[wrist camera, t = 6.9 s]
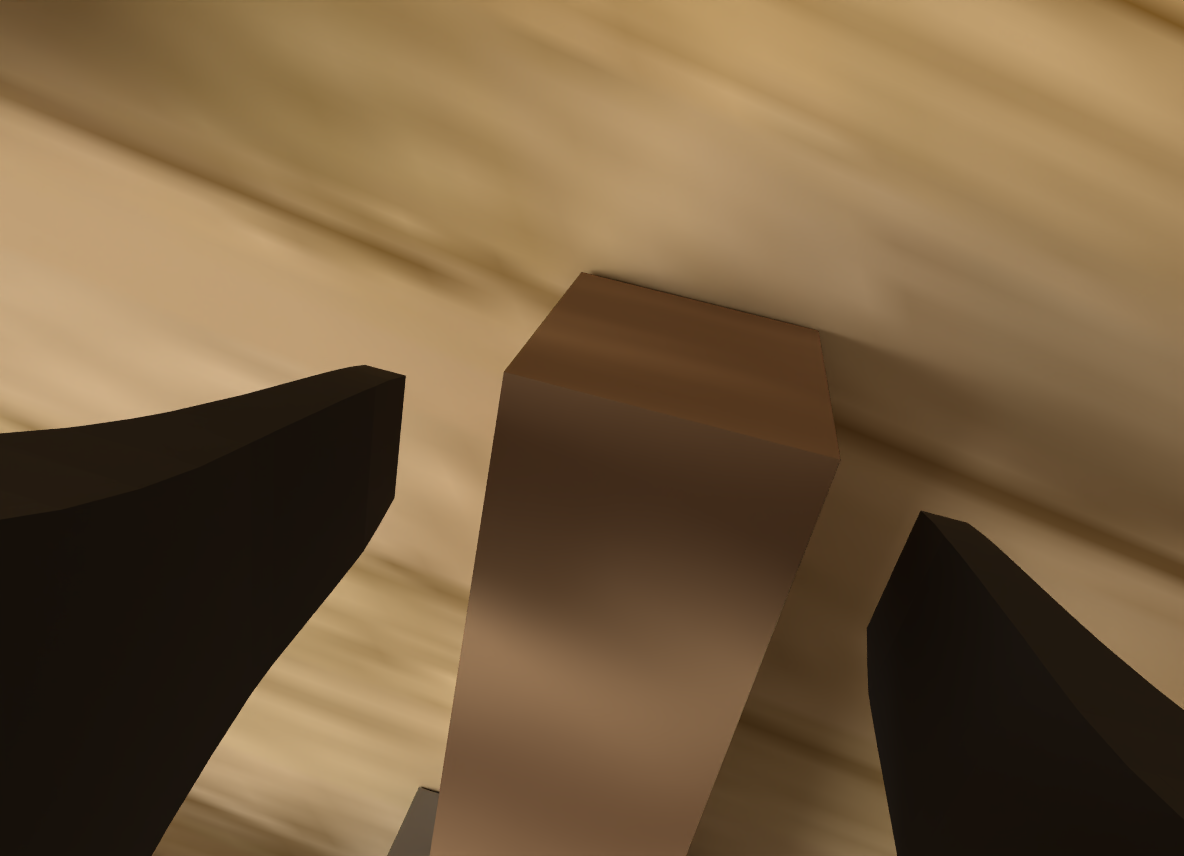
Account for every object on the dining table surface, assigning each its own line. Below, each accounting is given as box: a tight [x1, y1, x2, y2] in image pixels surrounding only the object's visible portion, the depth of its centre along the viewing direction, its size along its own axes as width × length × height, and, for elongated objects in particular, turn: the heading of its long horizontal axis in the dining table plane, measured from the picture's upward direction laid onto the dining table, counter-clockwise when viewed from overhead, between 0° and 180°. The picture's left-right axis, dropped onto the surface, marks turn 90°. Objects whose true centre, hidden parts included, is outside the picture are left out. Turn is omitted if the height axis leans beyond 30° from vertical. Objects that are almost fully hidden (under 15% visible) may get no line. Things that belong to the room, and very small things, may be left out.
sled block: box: [430, 272, 841, 856], centre depth 15 cm, size 14×4×4 cm, turn 169°
